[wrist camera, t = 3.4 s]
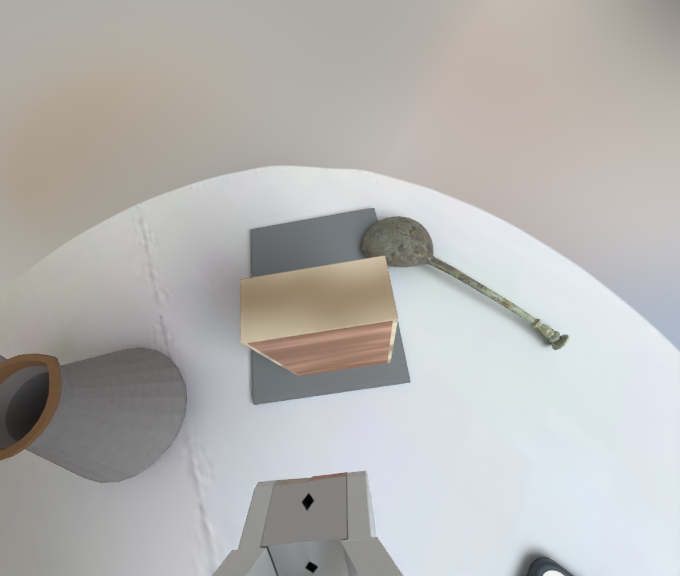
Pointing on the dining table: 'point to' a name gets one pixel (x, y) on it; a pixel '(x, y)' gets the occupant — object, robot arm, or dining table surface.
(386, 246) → the soupspoon
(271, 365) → the charcoal rubber mat
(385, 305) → the brown wooden block
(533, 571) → the smartphone
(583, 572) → the dining table surface
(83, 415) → the coffee pot
